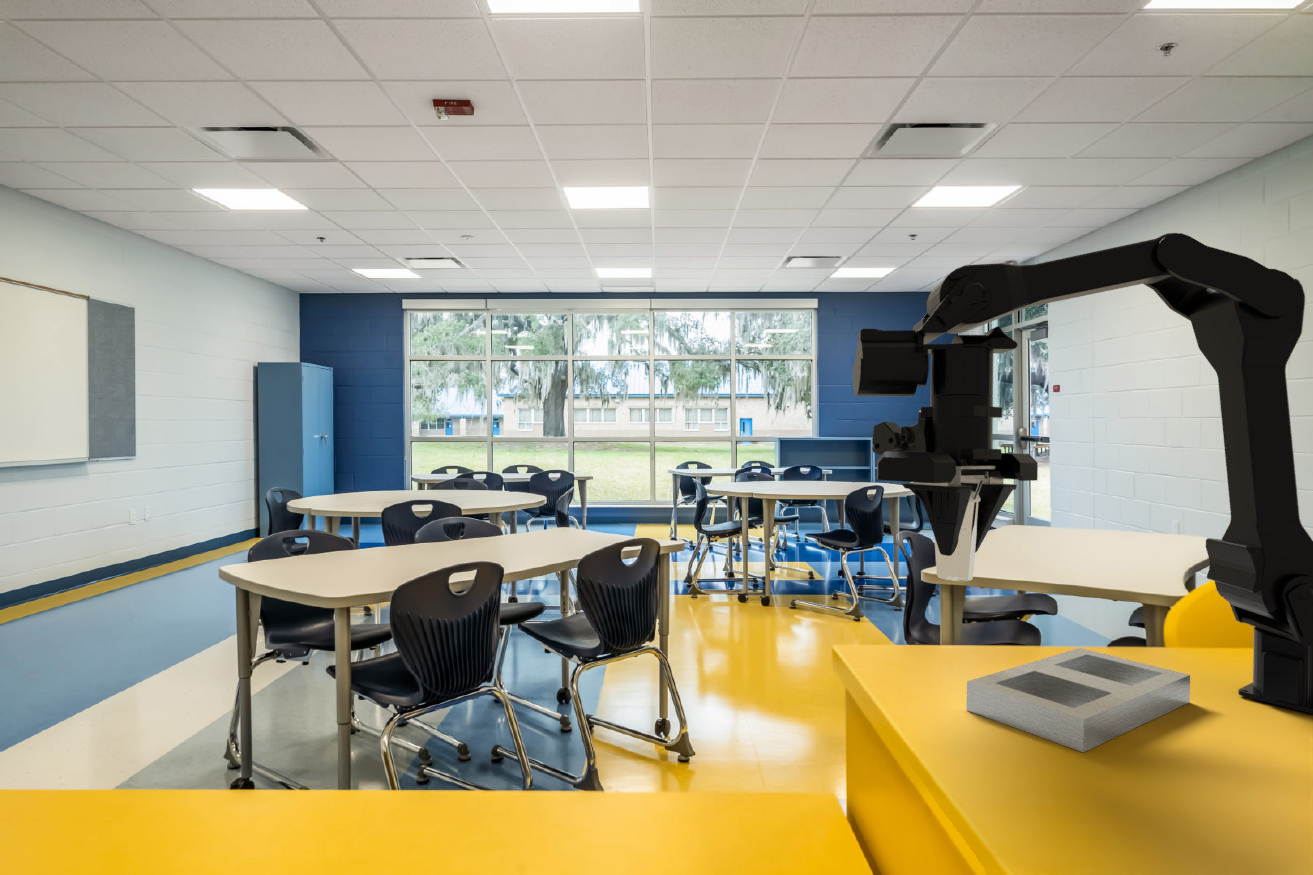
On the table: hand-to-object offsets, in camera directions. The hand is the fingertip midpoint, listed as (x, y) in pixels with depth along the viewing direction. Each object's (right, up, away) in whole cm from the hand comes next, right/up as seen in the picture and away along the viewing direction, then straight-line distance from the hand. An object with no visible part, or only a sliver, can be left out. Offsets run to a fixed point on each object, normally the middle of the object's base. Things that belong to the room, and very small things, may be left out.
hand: (958, 553), depth 68 cm
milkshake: (0, -3, 0) cm, 3 cm away
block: (+8, -13, -7) cm, 16 cm away
